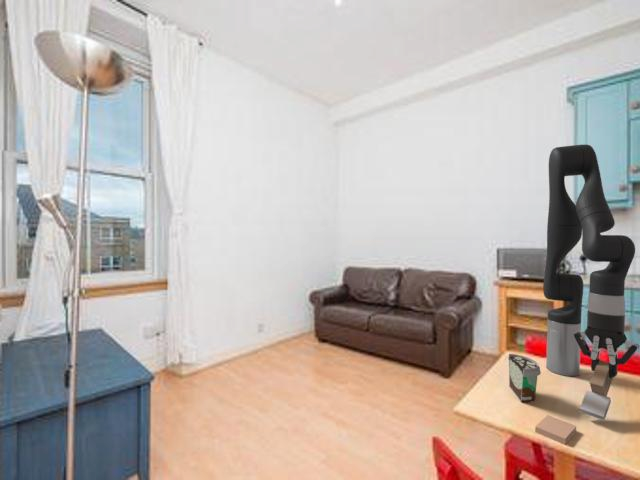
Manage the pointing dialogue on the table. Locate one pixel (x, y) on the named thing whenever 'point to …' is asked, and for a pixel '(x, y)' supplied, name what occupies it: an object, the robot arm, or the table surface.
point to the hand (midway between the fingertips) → (603, 374)
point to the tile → (555, 429)
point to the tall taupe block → (598, 393)
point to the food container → (523, 377)
